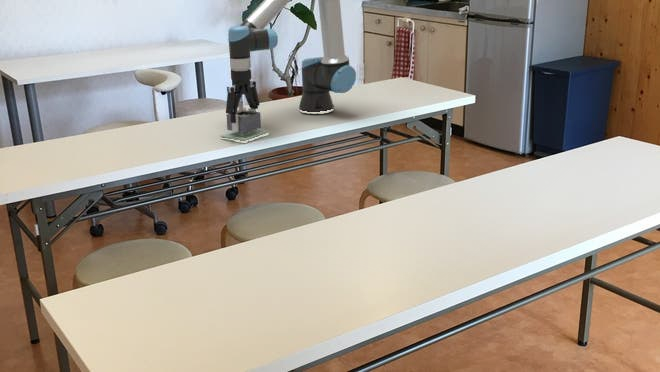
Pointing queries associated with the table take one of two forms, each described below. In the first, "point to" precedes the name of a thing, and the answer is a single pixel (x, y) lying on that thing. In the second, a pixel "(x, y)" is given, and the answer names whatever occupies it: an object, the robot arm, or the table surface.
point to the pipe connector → (241, 106)
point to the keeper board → (244, 134)
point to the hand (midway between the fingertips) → (244, 128)
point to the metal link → (246, 121)
